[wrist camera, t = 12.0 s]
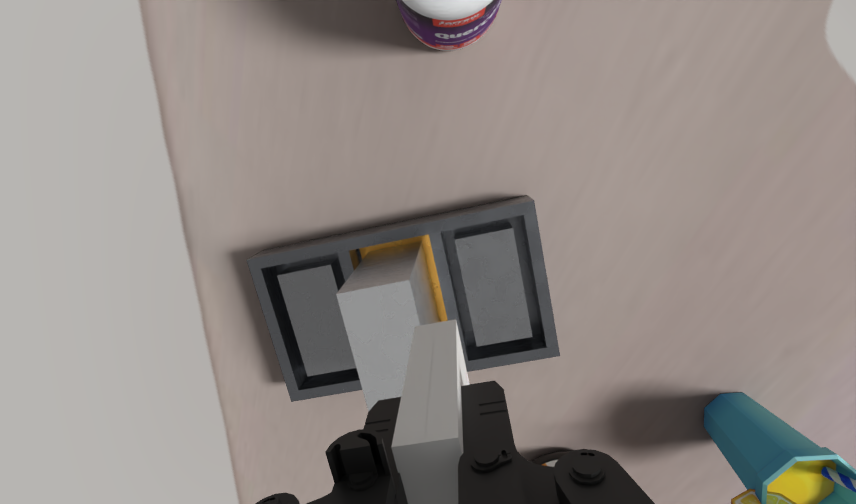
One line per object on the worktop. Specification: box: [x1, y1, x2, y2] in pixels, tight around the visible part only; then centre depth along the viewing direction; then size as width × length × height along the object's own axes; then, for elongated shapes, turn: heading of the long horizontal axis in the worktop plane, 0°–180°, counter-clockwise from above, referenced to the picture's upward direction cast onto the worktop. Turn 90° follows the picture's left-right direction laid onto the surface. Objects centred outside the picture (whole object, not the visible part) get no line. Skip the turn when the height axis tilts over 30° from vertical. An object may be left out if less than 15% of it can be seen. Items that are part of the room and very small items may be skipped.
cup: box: [704, 392, 856, 504], centre depth 37 cm, size 14×8×15 cm, turn 119°
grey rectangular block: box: [336, 241, 440, 411], centre depth 37 cm, size 10×5×12 cm, turn 12°
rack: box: [247, 195, 560, 402], centre depth 42 cm, size 14×25×4 cm, turn 102°
